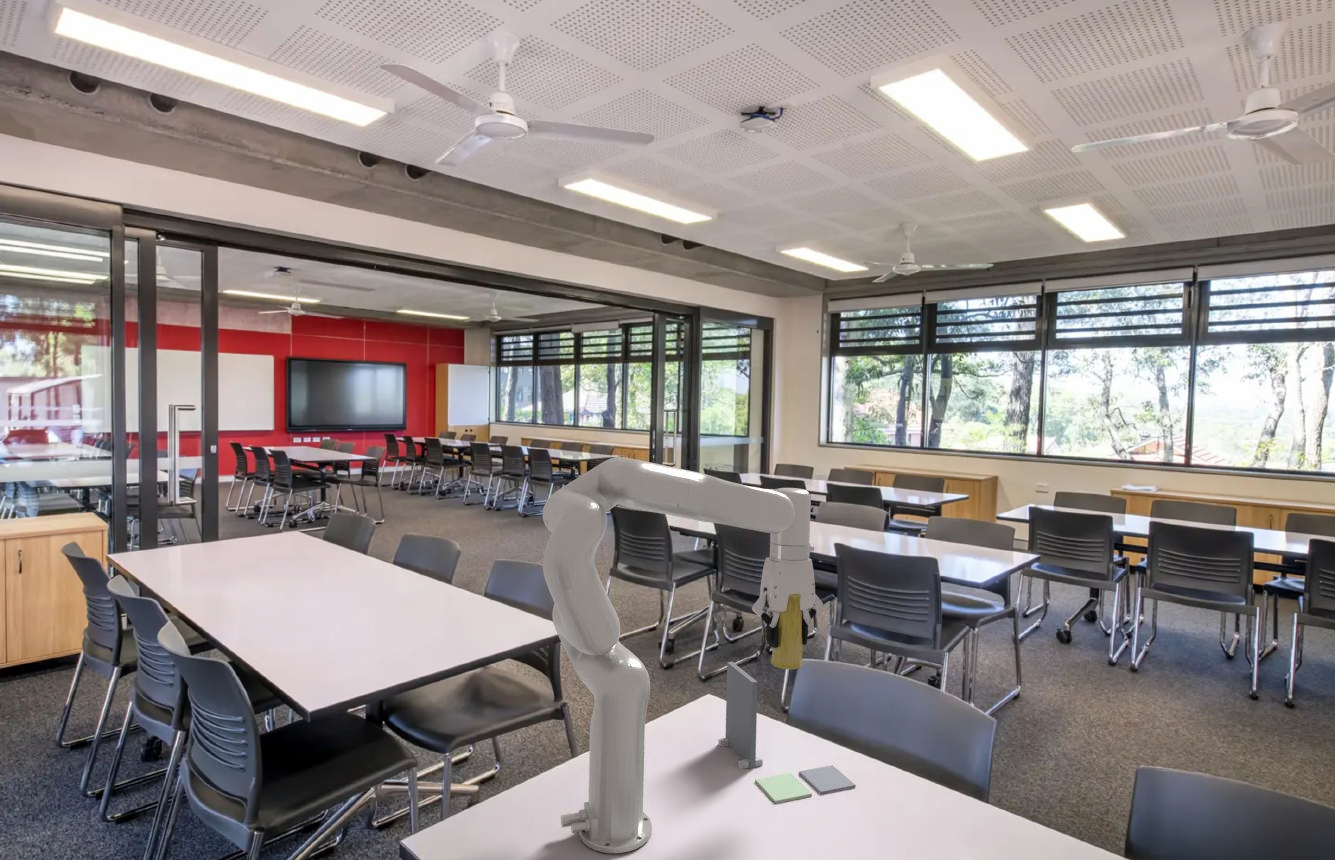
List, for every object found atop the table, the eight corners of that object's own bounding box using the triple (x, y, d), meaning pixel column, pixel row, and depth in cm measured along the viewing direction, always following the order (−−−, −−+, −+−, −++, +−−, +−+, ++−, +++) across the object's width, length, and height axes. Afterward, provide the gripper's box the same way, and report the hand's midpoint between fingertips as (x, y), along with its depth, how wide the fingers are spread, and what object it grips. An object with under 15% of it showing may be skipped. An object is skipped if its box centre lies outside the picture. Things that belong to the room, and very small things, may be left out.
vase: (773, 669, 132) (775, 594, 131) (768, 657, 138) (770, 586, 137) (805, 670, 132) (807, 595, 131) (799, 658, 138) (801, 587, 137)
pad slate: (820, 794, 134) (820, 791, 134) (799, 773, 141) (799, 771, 141) (855, 787, 136) (855, 784, 136) (832, 767, 144) (832, 765, 144)
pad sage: (775, 803, 130) (775, 800, 130) (755, 781, 138) (755, 779, 138) (811, 795, 133) (811, 793, 133) (790, 775, 141) (790, 772, 140)
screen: (741, 769, 142) (744, 683, 142) (717, 743, 153) (719, 662, 153) (763, 765, 144) (765, 680, 144) (737, 739, 155) (739, 660, 155)
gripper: (816, 546, 141) (814, 634, 141) (741, 550, 135) (738, 642, 135) (838, 553, 134) (835, 646, 134) (759, 558, 128) (756, 655, 128)
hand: (786, 643), depth 135 cm, fingers closed on vase, 5 cm apart
